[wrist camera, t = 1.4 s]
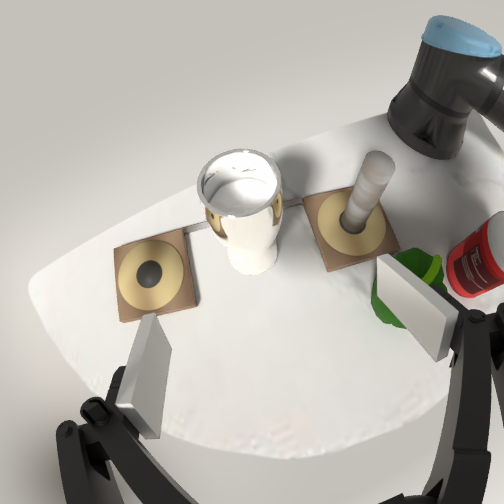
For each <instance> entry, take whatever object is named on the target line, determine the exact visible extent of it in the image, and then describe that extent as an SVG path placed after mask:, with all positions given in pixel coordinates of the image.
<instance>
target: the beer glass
mask: <svg viewBox="0 0 504 504" xmlns="http://www.w3.org/2000/svg"><path fill="white" fill-rule="evenodd" d="M197 192H198V195H199V198H200V201H201V205H202V208H203V212H204V215H205V217H206V220H207V222H208V224H209V226H210V228H211V230H212V232H213V234H214V235H215V236H216V237H217V239H218V240H219V241H220V242H221V243H222V244H223V245H224V246H225V247H226V248H227V249H228V250H227V252H228V258H229V261H230V263H231V265H232V266H233V267H234V268H235V269H236V270H237V271H239V272H241V273H243V274H246V275H258V274H261V273H264V272H265V271H267V270H268V269H270V268H271V267H272V265H273V264H274V262H275V261H276V258H277V253H278V249H277V244H276V241H275V238H276V236H277V234H278V231H279V229H280V225H281V222H282V216H283V192H282V185H281V174H280V171H279V168H278V166H277V165H276V163H275V162H274V161H273V160H272V159H271V158H270V157H268V156H267V155H265V154H263V153H261V152H258V151H256V150H251V149H234V150H229V151H226V152H223V153H221V154H219V155H217V156H215V157H214V158H212V159H211V160H210V161H209V162H208V163H207V164H206V165H205V166H204V167H203V169H202V171H201V172H200V175H199V177H198V181H197Z"/></svg>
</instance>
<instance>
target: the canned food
mask: <svg viewBox="0 0 504 504" xmlns="http://www.w3.org/2000/svg"><path fill="white" fill-rule="evenodd" d="M447 277H448V280H449V283H450V285H451V287H452V288H453V290H454V291H455V292H456V293H457V294H459V295H460V296H462V297H467V298H473V297H476V296H478V295H481V294H483V293H485V292H487V291H489V290H491V289H494V288H496V287H498V286H500V285H502V284H504V211H500V212H497V213H496V214H494V215H493V216H492V217H491V218H489V219H488V220H487V221H486V222H485V223H484V224H482V225H481V226H480V227H479V228H478V229H477V230H475V231H474V232H473V233H472V234H471V235H469V236H468V237H467V238H466V239H465V240H463V241H462V242H461V243H460V244H459V245H457V246H456V247H455V248H454V249H453V250H452V252H451V254H450V256H449V258H448V261H447Z"/></svg>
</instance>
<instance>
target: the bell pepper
mask: <svg viewBox="0 0 504 504" xmlns="http://www.w3.org/2000/svg"><path fill="white" fill-rule="evenodd" d="M394 259H396V260H397V261H398V262H399V263H401V264H402V265H403V266H405V267H406V268H407V269H408V270H410V271H411V272H412V273H413V274H415V275H416V276H417V277H418V278H420V279H421V280H422V281H423V282H425V283H426V284H427V285H428V286H430V285H432V284H434V285H436V286H439V287H441V288H442V289H444V290H445V291H446V292H447V287H446V286H445V285H444V284H443V282H442V281H443V278H444V273H443V268H442V264H441V262H442V258H441V257H440V256H439V255H435V256H433V257H432V256H430V255H428V254H427V253H425V252H423V251H422V250H420V249H419V248H411V249H409V250H406V251H403V252H401V253H398V254H397V255H396V257H395V258H394ZM447 293H448V292H447ZM371 304H372V307H373V309H374V311H375V314H376V315H377V317H378V318H379V319H380V320H381V321H382V322H383V323H386V324H391V323H392V325H393V326H396V327H399V328H404V329H407V328H406V327H405V326H404V325H403V324H402V323H401V321H400V320H399V319H398V318H397V317H396V316H395V315H394V314H393V312H392V311H391V310H390V309H389V308H388V307H387V306H386V305H385V304H384V303H383V301H382V300H381V299H380V298H379V297H378V296H377V277H376V279H375V281H374V284H373V289H372V297H371Z"/></svg>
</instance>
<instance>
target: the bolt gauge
mask: <svg viewBox="0 0 504 504" xmlns="http://www.w3.org/2000/svg"><path fill="white" fill-rule="evenodd" d="M394 171H395V164H394V161H393V160H392V158H391V157H390V156H388V155H387V154H386V153H384V152H381V151H371V152H369V153H367V155H366V157H365V159H364V162H363V165H362V167H361V170H360V173H359V175H358V178H357V180H356V183H355V186H354V187H349V188H344V189H340V190H335V191H330V192H326V193H321V194H317V195H313V196H308V197H304V198H303V201H302V199H301V198H297V199H293V200H289V201H284V202H283V208H287V207H291V206H295V205H300V204H303V206H304V208H305V211H306V214H307V216H308V219H309V222H310V224H311V227H312V230H313V233H314V235H315V238H316V241H317V244H318V246H319V249H320V252H321V255H322V258H323V261H324V264H325V266H326V269H327V272H331V271H334V270H338V269H341V268H345V267H348V266H351V265H355V264H358V263H362V262H365V261H368V260H371V259H375V258H377V256H380V255H383V254H387V253H388V254H391V253H394V252H397V251H398V250H399V249H400V246H399V244H398V241H397V239H396V237H395V234H394V232H393V230H392V228H391V225H390V223H389V221H388V219H387V217H386V215H385V212H384V210H383V208H382V206H381V204H380V202H379V199H380V197H381V195H382V193H383V191H384V190H385V188H386V186H387V184H388V182H389V180H390V178H391V176H392V175H393V173H394ZM208 227H210V226H209V224H208V222H207V221H206V222H202V223H198V224H195V225H191V226H187V227H184V228H183V230H182V229H179V230H175V231H172V232H168V233H165V234H161V235H158V236H154V237H151V238H147V239H144V240H141V241H137V242H134V243H131V244H127V245H124V246H121V247H117V248H114V265H115V279H116V291H117V302H118V311H119V319H120V322H123V323H126V322H131V321H135V320H140V319H142V317H143V315H146V314H151V313H155V314H156V316H158V315H163V314H167V313H172V312H176V311H181V310H185V309H189V308H194V307H197V303H196V298H195V293H194V287H193V282H192V277H191V271H190V265H189V260H188V254H187V248H186V242H185V235H184V234H186V233H190V232H194V231H197V230H201V229H205V228H208Z"/></svg>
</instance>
